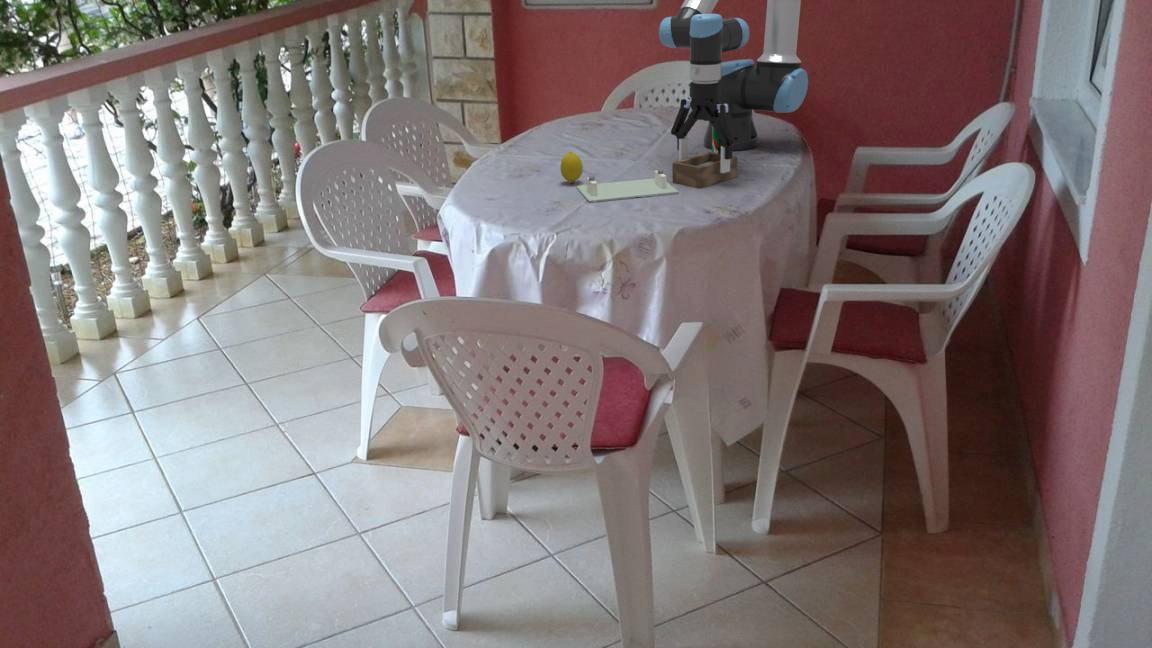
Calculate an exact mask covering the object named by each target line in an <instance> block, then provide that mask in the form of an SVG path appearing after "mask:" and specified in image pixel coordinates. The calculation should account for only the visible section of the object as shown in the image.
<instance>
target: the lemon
mask: <svg viewBox="0 0 1152 648" xmlns="http://www.w3.org/2000/svg"><path fill="white" fill-rule="evenodd" d="M583 166H584V165H583V162H582V159H581V157H580V156H579V155H578V154H576V153H573V151H569V153H567V154H565V155H564V156H563V157H562V159H561V162H560V173H561V175H562V177H563V179H564V180H566V181H568V182H569V183H570V184H574V183H575V182H576V181H577V180H579V179H580V177H582V174H583V169H584V168H583Z"/></svg>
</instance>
